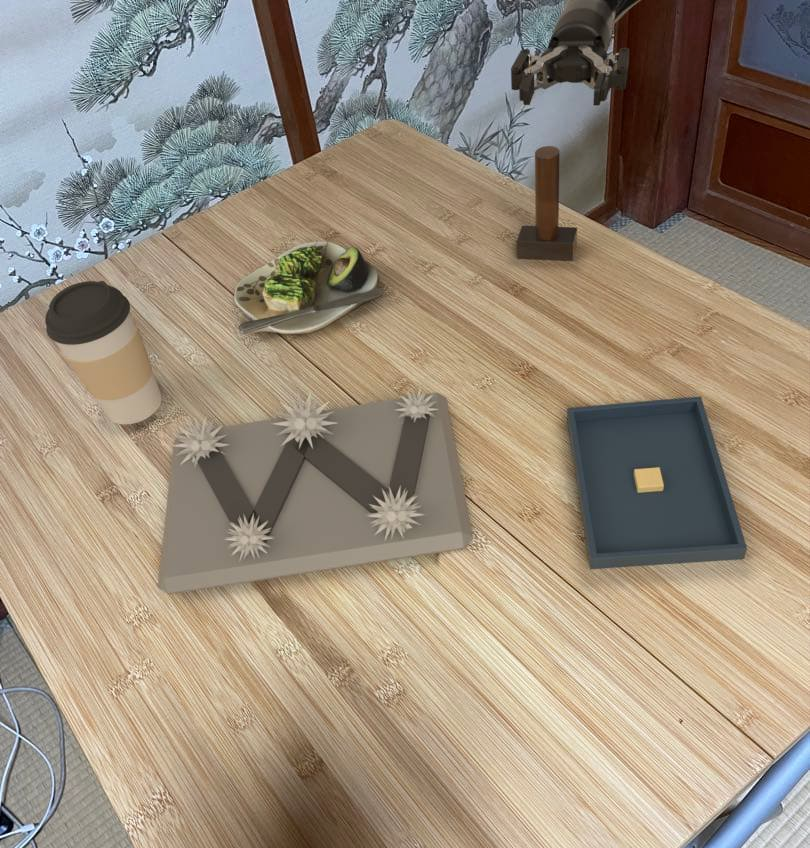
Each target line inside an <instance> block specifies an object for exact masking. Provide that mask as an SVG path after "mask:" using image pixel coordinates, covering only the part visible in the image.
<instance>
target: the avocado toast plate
mask: <svg viewBox="0 0 810 848" xmlns="http://www.w3.org/2000/svg"><path fill="white" fill-rule="evenodd" d="M379 280H380V276H379V273H378V271H377V269H376V268H375V267H374V266H373V264H371V263H370V262H368V261H366V260H365V258H364V256H363V255H362V253H361V252H360V250H359V249H358V248H357V247H354V246H352V247H349V248H344V247H342V246H341V245H339V244H337V243H334V242H331V241H326V240H325V241H324V240H321V241H318V240H317V241H310V242H304V243H301V244H298V245H296V246H293V247H291V248H290V249H288V250H286V251H285V252H283V253H282V254H280V255H279V256H277V257H276V258H274V259H272V260H271V261H269V262H267V263H266V264H265V265H263V266H261V267H259V268H256V269H255V270H254V271H252V272H251V273H249V274H248V275H246V276H244V277H242V278H241V280H239V282H238V284H236V287H235V288H234V296H233V303H234V305H235V306H236V307H237V308H238V309H239V310H240V311H241V312H242V313H243V315H245V316H246V317H247V318H248V319H250V320H249V321H246V322H242V323H240V324H239V325H238V331H239V333H240V334H242V335H248V334H255V333H258V332H259V333H260V332H267V333H275V334H280V335H299V334H305V335H306V334H311V333H313V332H316V331H318V330H321V329H323V328H326V327H327V326H329V325H330V324H332V323H334V322H335V321H337V320H338V319H341V318H342V317H344V316H345V315H348V314H349V313H352V312H354V311H355V310H357V309H358V308H360V307H361V306H363V305H364V304H367V303H368V302H371V301H373V300H375V299H376V298H379V297H380V296H382V295H383V294H384V293H385V292H386V289H385V288H383V287H379V282H380V281H379Z"/></svg>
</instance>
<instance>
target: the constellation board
mask: <svg viewBox="0 0 810 848" xmlns="http://www.w3.org/2000/svg"><path fill="white" fill-rule="evenodd" d="M421 388H422V387H421V386H420V387H419V390H418V392H417V395H416V394H415V392H414V389H413V388H411V392H410V391H409V390H405V392H406V395H407V396H403V395H401V394H399V398H393V399H392V398H391V399H386V400H380V401H375V402H366V403H361V404H356V405H350V406H349V405H348V406H344V407H343V406H342V407H337V408H331V409H325V408H326V406H327V405H328V404H329V402H330V400H328V401H327V402H325V403H323V404H322V405H320V406H319V407H317V408H316V406H317V401H318V398H319V394H316V396H315V398H314V399H313V401H312V398H311V395H312V389H310V391H309V393H308V396H307V399H306V401H305V403H304V401H303V400H302V397H301V395H300V392H299V390H298V389H297V397H298V398H296V399H297V401H296V400H295V398H294V397H293V395H292V394H291V393H290V398H291V400H292V401H291V402H292V405H293V408H292V407H290V406H288V405H287V404H285V403H283V402H282V401H279V403H280V404H281V406H282V407H284V409H285V410H286V411H287V412H288V413H283V412H278V411H275V412H274V413H275V414H277V415H278V416H280V417H275V418H268V419H263V420H255V421H251V422H245V423H238V424H231V425H226V426H224V425H221V426H219V427H213V424H214V420H215V419H210V422H208V423H207V417H204V420H203V424H202V425H201V427H200V424H199V422H198V420H197V418H196V416H195V415H193V416H194V424H193V422H192V421H191V420H187V419H186V421H187V425H188V427H189V430H190V431H189V430H188V429H186V428H184V427H182V426H181V425H179V426H178V425H177V427H178V429H179V430H180V431H182V433H179V434H177V435H174V438H175V439H174V440H173V445H171V447H172V454H171V463H170V473H169V481H168V490H167V500H166V509H165V516H164V526H163V535H162V544H161V552H160V554H161V555H160V562H159V571H158V578H157V587H158V588H159V589H160V590H161V591H163V592H164V593H165V594H166V595H177V594H181V593H188V592H195V591H202V590H207V589H214V588H219V587H220V588H221V587H225V586H233V585H239V584H247V583H253V582H260V581H266V580H272V579H278V578H286V577H291V576H299V575H305V574H310V573H317V572H325V571H330V570H331V571H332V570H337V569H344V568H351V567H357V566H363V565H369V564H375V563H382V562H388V561H395V560H401V559H408V558H414V557H420V556H421V557H422V556H428V555H433V554H434V555H435V554H439V553H447V552H452V551H459V550H460V551H461V550H465V549H466V548H467V546H468V545H469V544H470V543H471V542H472V541H473V539H474V536H473V530H472V525H471V519H470V513H469V509H468V505H467V504H468V503H467V499H466V493H465V489H464V483H463V477H462V472H461V467H460V461H459V456H458V452H457V446H456V440H455V436H454V435H455V434H454V430H453V425H452V419H451V415H450V409H449V403H448V399H447V397H446V396H445V395H442V394H440V393H439V392H437V391H435V392H430V393H429V392H428V393H426V392H427V390H423V392H422V393H421V390H422V389H421ZM324 409H325V410H324ZM194 425H195V426H194Z"/></svg>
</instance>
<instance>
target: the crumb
mask: <svg viewBox="0 0 810 848" xmlns="http://www.w3.org/2000/svg"><path fill="white" fill-rule="evenodd" d="M634 479H635V484H636V489H637V492H638V493H642V492H655V491H663V488H664V484H663V479H662V475H661V471H660V468H659V467H657V468H644V469H634Z"/></svg>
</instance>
